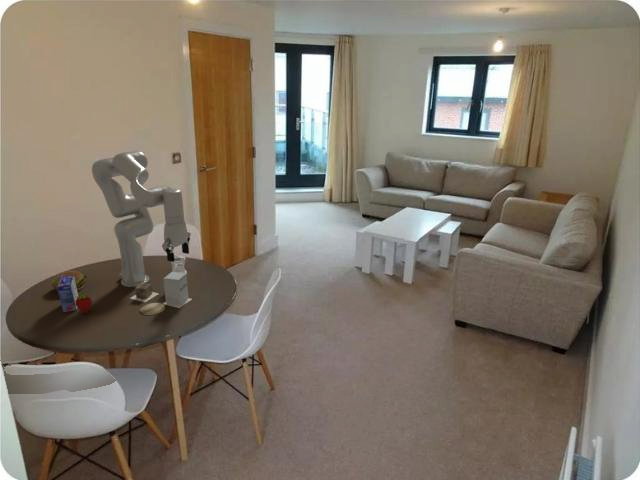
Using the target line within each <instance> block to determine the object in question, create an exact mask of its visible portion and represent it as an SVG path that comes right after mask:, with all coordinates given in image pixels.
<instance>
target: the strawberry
mask: <svg viewBox="0 0 640 480" xmlns="http://www.w3.org/2000/svg"><path fill="white" fill-rule="evenodd" d="M79 293H80V294H82V295H78V297H75V298H77V300H76V306H77V310H79V311H80V312H83V313H84V314H88V312H89V310H90V309H91V306H92V299H91V297H90V296H89V294H85V293H81V292H79ZM79 293H78V294H79Z"/></svg>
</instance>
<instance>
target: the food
mask: <svg viewBox="0 0 640 480" xmlns="http://www.w3.org/2000/svg"><path fill="white" fill-rule="evenodd" d="M61 275H62V276H63V277H69V276H74V279H75V283H76V288H77V292H78V291H80V290H82V289H83V288H85V285H86V279H87V275H84V274H83V273H82V272H80V271H77V270H67V271H64V272H60V273H59V274H57V276H56V277H55V278H54V280H52V282H51V283H52V288H54V289H55V288H56V290H55V291H56V292H58V289H57V286H58V284H59V281H60V276H61Z"/></svg>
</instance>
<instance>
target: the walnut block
mask: <svg viewBox="0 0 640 480" xmlns="http://www.w3.org/2000/svg"><path fill="white" fill-rule="evenodd" d="M152 288H153V287H152V284H151V283H146V284H144V283H140V284H139V285H138V286H137V287H134V290H135V295H136V298H142V299H147V298H148V297H150V296H151V295H152V292H153V289H152Z"/></svg>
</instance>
